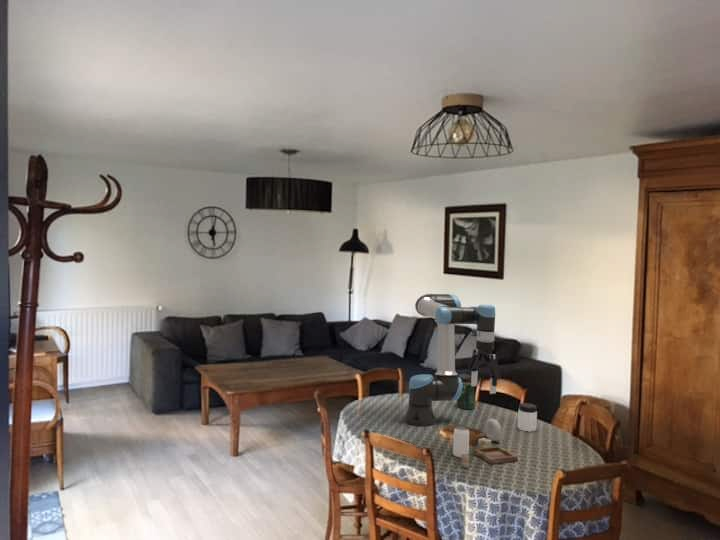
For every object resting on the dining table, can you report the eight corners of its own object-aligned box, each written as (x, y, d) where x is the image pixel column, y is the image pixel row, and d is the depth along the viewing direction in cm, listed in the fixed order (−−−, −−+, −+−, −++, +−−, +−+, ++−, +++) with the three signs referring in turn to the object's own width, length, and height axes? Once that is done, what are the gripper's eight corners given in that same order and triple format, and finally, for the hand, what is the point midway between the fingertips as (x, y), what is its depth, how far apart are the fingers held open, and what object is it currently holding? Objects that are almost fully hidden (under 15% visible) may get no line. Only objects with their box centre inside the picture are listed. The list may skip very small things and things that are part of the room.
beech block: (478, 448, 249) (478, 439, 249) (483, 446, 252) (483, 437, 251) (485, 451, 246) (486, 442, 246) (491, 449, 249) (491, 440, 249)
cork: (459, 465, 228) (459, 454, 228) (466, 464, 229) (466, 453, 229) (463, 468, 225) (464, 457, 225) (470, 467, 226) (471, 456, 226)
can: (451, 452, 242) (452, 424, 242) (466, 452, 243) (467, 425, 242) (455, 458, 236) (456, 429, 235) (470, 458, 236) (471, 429, 236)
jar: (527, 433, 273) (528, 408, 272) (514, 428, 280) (515, 404, 279) (539, 430, 278) (540, 406, 277) (526, 425, 285) (527, 402, 284)
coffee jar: (477, 408, 313) (478, 375, 312) (466, 410, 308) (468, 377, 308) (464, 404, 321) (465, 372, 320) (454, 406, 316) (455, 373, 315)
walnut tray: (473, 453, 242) (473, 449, 242) (498, 450, 247) (498, 446, 247) (491, 464, 230) (491, 459, 230) (517, 461, 235) (517, 456, 235)
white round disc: (502, 443, 256) (503, 421, 256) (496, 444, 255) (497, 422, 254) (488, 436, 265) (489, 415, 265) (482, 437, 264) (483, 416, 263)
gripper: (461, 336, 254) (459, 383, 254) (495, 345, 231) (493, 397, 231) (475, 336, 257) (473, 382, 257) (510, 345, 234) (508, 395, 234)
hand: (483, 389), depth 244 cm, fingers open, 13 cm apart
